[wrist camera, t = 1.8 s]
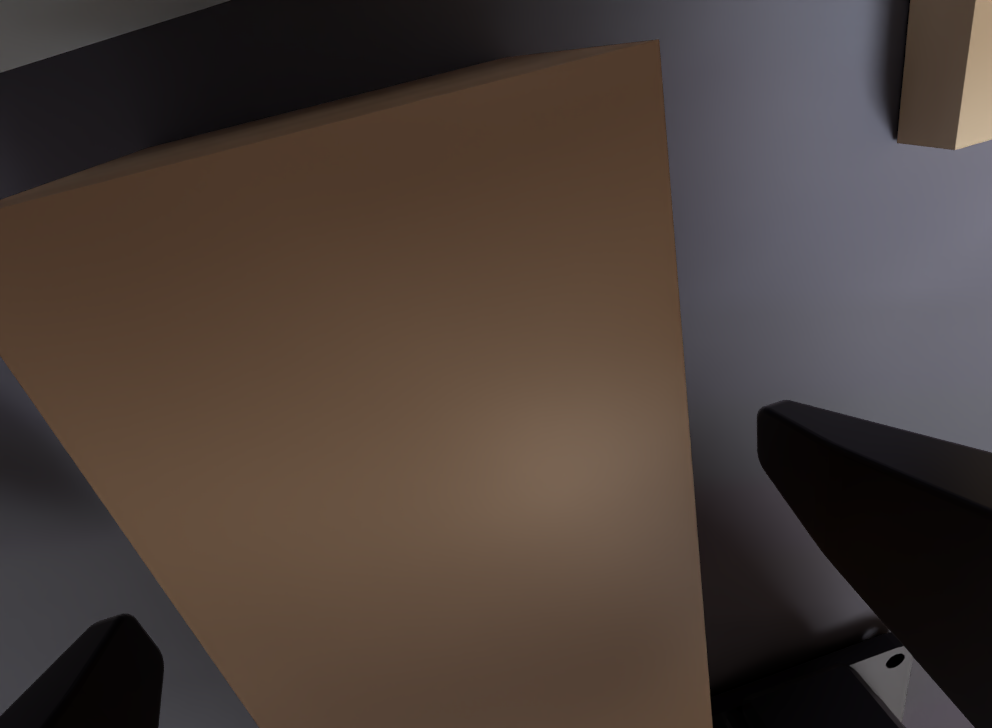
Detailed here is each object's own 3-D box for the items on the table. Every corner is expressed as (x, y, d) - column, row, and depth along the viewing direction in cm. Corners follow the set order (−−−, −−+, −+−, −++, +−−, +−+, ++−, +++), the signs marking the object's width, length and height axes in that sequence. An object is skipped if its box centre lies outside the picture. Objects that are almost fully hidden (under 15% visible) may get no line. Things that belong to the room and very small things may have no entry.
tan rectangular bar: (609, 619, 13) (723, 861, 9) (407, 688, 12) (431, 975, 8) (502, 57, 8) (660, 40, 4) (152, 146, 7) (-88, 231, 3)
